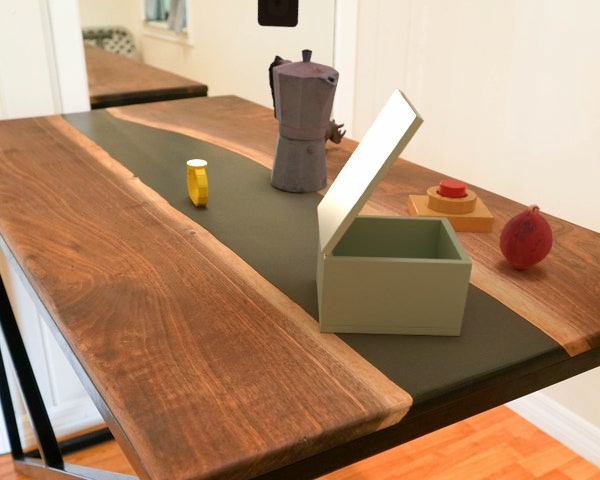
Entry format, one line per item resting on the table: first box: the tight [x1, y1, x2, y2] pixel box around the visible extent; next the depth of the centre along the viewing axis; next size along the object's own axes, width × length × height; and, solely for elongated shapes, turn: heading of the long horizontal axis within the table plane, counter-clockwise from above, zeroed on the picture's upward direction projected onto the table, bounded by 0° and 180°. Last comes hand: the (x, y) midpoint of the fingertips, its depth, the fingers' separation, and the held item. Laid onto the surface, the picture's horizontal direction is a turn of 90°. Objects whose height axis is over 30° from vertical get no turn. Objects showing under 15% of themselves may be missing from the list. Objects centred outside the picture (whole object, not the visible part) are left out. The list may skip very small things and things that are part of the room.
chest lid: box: [316, 88, 425, 256], centre depth 62 cm, size 14×12×1 cm
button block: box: [407, 185, 495, 233], centre depth 90 cm, size 10×8×4 cm
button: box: [438, 179, 468, 199], centre depth 89 cm, size 4×4×2 cm
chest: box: [316, 214, 473, 337], centre depth 67 cm, size 14×12×8 cm
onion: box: [499, 204, 554, 271], centre depth 76 cm, size 6×6×8 cm
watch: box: [186, 159, 209, 207], centre depth 92 cm, size 6×3×6 cm, turn 24°
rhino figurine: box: [324, 118, 347, 145], centre depth 117 cm, size 4×14×6 cm, turn 129°
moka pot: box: [267, 48, 340, 194], centre depth 98 cm, size 10×15×20 cm, turn 42°
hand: (279, 20), depth 57 cm, fingers open, 9 cm apart
